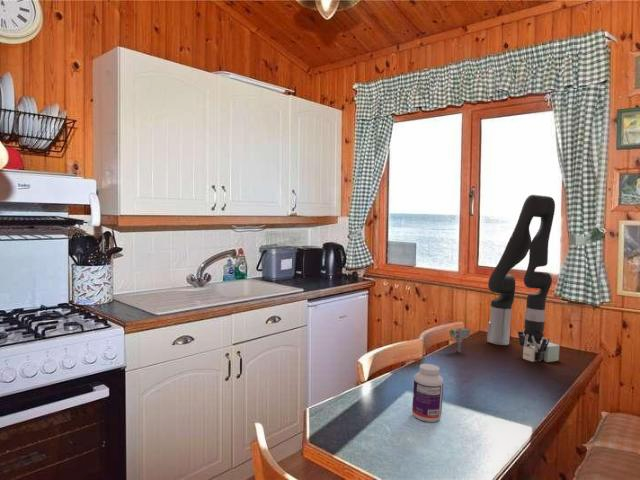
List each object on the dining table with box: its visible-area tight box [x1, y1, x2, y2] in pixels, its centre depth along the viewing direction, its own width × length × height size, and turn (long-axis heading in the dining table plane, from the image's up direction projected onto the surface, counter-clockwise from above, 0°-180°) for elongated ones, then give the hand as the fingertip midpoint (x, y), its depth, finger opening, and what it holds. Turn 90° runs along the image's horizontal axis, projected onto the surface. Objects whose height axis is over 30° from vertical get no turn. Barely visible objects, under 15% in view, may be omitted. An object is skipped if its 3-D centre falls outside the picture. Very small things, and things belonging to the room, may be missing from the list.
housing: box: [530, 340, 560, 363], centre depth 189 cm, size 7×9×6 cm
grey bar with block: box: [522, 346, 545, 362], centre depth 188 cm, size 17×4×5 cm, turn 113°
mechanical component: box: [449, 327, 471, 353], centre depth 192 cm, size 3×10×10 cm, turn 115°
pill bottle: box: [411, 363, 444, 423], centre depth 124 cm, size 8×8×14 cm
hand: (531, 358), depth 186 cm, fingers closed on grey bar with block, 4 cm apart
